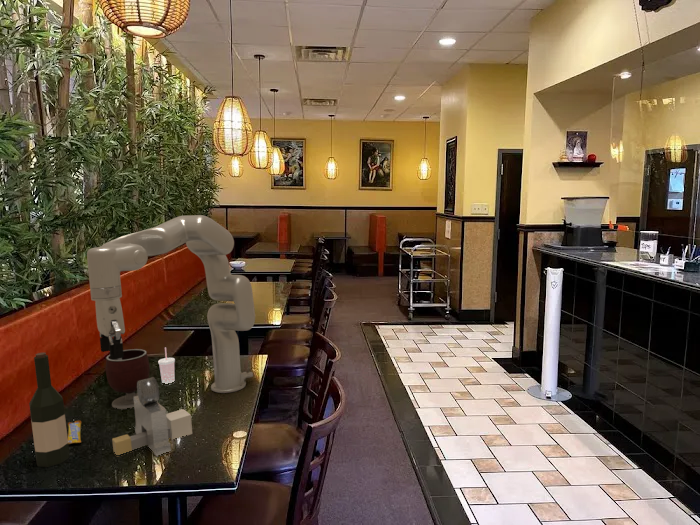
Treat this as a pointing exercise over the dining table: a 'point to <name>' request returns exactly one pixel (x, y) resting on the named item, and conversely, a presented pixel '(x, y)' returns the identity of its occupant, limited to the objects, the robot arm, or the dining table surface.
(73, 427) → the candy bar
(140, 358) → the mate gourd
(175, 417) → the plug
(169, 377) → the beverage cup
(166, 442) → the bulkhead
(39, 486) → the dining table surface
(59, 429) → the wine bottle
